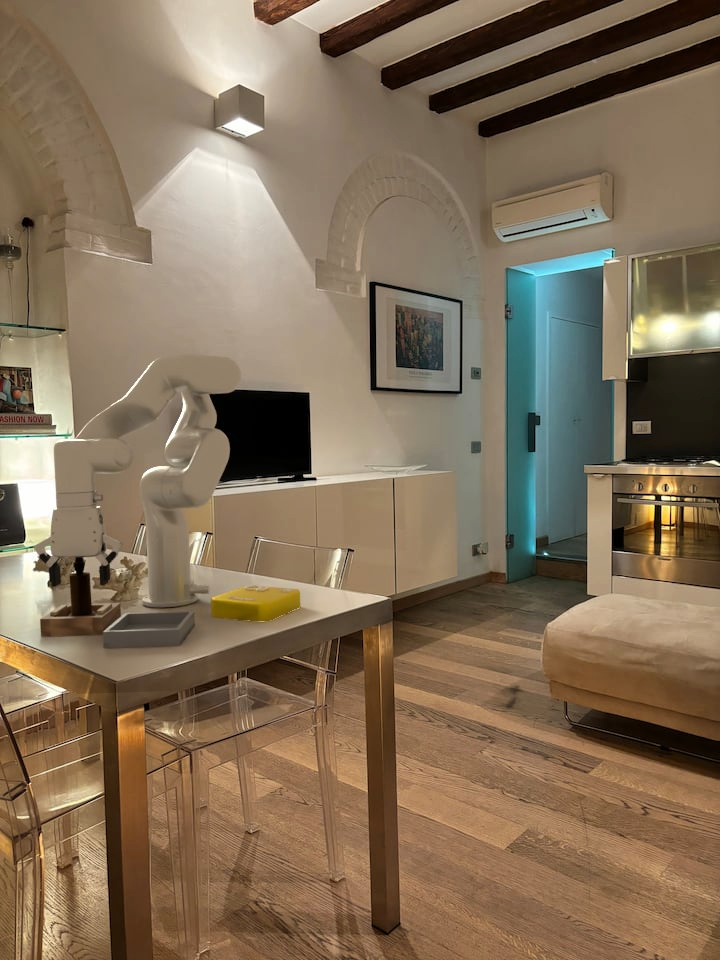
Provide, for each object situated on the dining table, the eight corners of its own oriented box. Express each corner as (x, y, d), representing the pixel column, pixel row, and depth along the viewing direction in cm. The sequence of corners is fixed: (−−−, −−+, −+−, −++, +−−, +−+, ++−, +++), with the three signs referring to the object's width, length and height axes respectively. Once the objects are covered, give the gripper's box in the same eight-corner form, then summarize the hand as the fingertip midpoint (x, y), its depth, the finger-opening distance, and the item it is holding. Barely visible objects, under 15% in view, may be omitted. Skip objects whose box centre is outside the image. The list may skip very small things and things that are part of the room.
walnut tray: (121, 619, 155) (120, 600, 155) (102, 634, 143) (101, 614, 143) (64, 620, 155) (63, 601, 155) (40, 636, 143) (39, 616, 143)
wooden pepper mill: (70, 624, 152) (66, 538, 151) (102, 622, 153) (98, 537, 152) (61, 633, 145) (56, 543, 144) (94, 631, 146) (90, 542, 145)
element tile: (207, 618, 156) (206, 596, 156) (248, 603, 169) (247, 582, 169) (266, 625, 149) (265, 602, 149) (304, 608, 163) (303, 587, 162)
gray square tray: (195, 625, 149) (194, 610, 149) (180, 645, 135) (179, 629, 135) (125, 627, 148) (125, 613, 148) (103, 647, 134) (102, 631, 134)
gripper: (125, 498, 151) (128, 579, 152) (40, 500, 151) (44, 582, 152) (113, 501, 144) (117, 587, 145) (24, 503, 143) (29, 590, 145)
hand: (80, 584), depth 148 cm, fingers open, 9 cm apart
